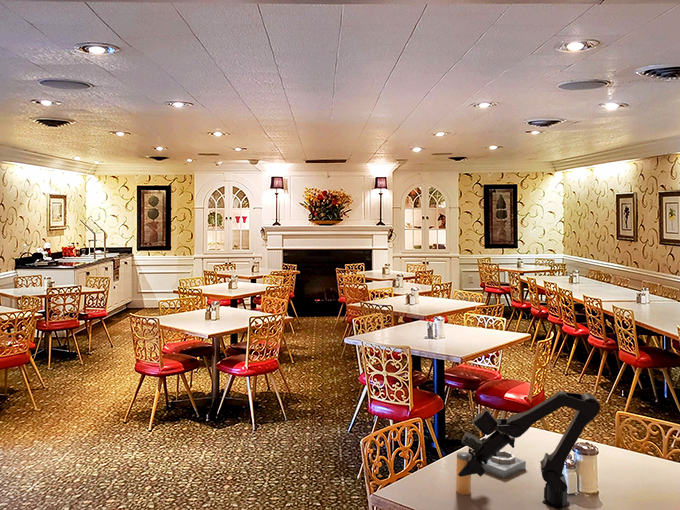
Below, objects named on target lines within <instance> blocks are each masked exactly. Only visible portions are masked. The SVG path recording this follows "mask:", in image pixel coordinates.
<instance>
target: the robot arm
mask: <svg viewBox="0 0 680 510" xmlns="http://www.w3.org/2000/svg"><path fill="white" fill-rule="evenodd" d="M562 407H567V408H570V409H572V410H575V411H574V416H573V417H572V419H571V420H570V423H569V424H568V426H567V428H566V430H565V431H564V433H563V435H562V437H560V438H561V439H560V440H559V442H558V444H557V445H556V447H555V448H554V451H553V452H552V453H550V454H549V453H547V452H545V454H544V457H543V458H542V459H541V460H540V461H539V462H540V473H541V476H542V477H541V478H542V480H544V482H545V484H544V485H545V486H544V488H543V499H544V500H542V503H543V504H544V505H547V506H550V507H552V508H555V509H557V510H562V509H564V508H566V507H568V506H569V505H570V501H568V492H569V491H568V490H569V489H568V484H567V480H566V476H565V474H564V473H563V472H564V471H563V470H564V467H565V462H566V460H567V459H568V456H569V455H570V453H572V452H571V451H572V450H573V449H574V446H575V445H576V444H577V441H578V439H579V438H580V437H581V434H582V433H583V431H584V428H586V426H587V425H588V424H589V423H591V422H592V421H593V420H594V419H595V418H596V416H597V415H599V413H600V411H601V405H600V402H599V401H598V399H597V397H595V395H593V394H591V393H577V392H567V391H563V390H560V391H556V393H555V394H554V395H552V396H550V397H548V398H546V400H545V399H544V401H542V402H540V403H539V404H537V405H535V406H533V407H532V408H530V409H528V410H526V411H523V412H519V413H515V414H513V415H510V416H508V417H507V418H497V419H496V418H495V417H494V415H492V414H491V413H492V412H490V410H489V409H487V408H486V409H485V410H484V411H483V410H482V411H481V412H479V413H478V414H476V415H475V417H473V419H472V421H471V423H472V424H473V425H474V426H475V427H476V428H477V429H478V430H479V432H481V434H482V435H484V436H485V435H486V436H487V437H482V438H479V437H477V436H476V435H474V434H472V433H470V432H469V431H466V432H465V433H464V435H463V437H462V439H461V444H462V445H463V446H467V448H468V452H467V453H470V454H471V456H470V457H469V458H468V457H467V464H466V465H465V466H464V467H463V469H462V470H461V471H460V472H459V474H458V475H459V476H460V477H462V476H467V475H471V476H472V475H476V474H477V476H479V477H482V476H484V475H485V473H486V472H485V465H486V464H487V463H488V460H489V459H490V458H492V457H493V456H494V457H495V456H497V453H498V452H499V451H502V450H503V449H504V448H505V447H506V446H507V445H509V446H510V447H511V448H512V449H514V448H515V442H516V439H517V438H520V437H522V436H523V435H524V434H525V433H526V432H527V431H528V430H529V429H530V428H531V427H532V426H533V425H534V424H536V423H537V422H539V421H541V420H542V419H544V418H545V417H546V416H548V415H551V414H552V413H553V412H556V411H557V410H559V409H560V408H562ZM482 462H484V464H485V465H484V464H483V463H482Z"/></svg>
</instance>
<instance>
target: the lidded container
mask: <svg viewBox="0 0 680 510" xmlns="http://www.w3.org/2000/svg"><path fill="white" fill-rule="evenodd" d="M470 456H471V454H470V453H468V452H466V451H459V452H456V474H455V476H456V477H455V478H456V479H455V480H456V481H455V483H456V485H455V491H456V493H457V494H459V495H463V496H464V495H465V496H466V495H471V493H472V490H471V489H472V475H467V476H462V477H460V476H459V475H458V474H459V472H460V471H461V470H462V469H463V467H464V466H465V465H466V464H467V457H468V458H469V457H470Z"/></svg>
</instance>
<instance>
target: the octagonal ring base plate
mask: <svg viewBox="0 0 680 510" xmlns="http://www.w3.org/2000/svg"><path fill="white" fill-rule="evenodd" d="M482 463H483V464H484V462H482ZM484 465H485V464H484ZM526 465H527V461H526V460H524V459H521V458H518V457H516V456H515V454H514V453H512V452H510V451H507V450H500V451H499V452H498V453H497V456H495V457H494V456H493V457H492V458H490V459H489V460H488V463H487V464H486V465H485V473H488V474H491V475H493V476H495V477H499V478H500V479H508V478H510V477H511V476H513V475H517V474H518V473H519V472H522V471H523V470H524V471H525V470H526V467H527V466H526Z"/></svg>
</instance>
